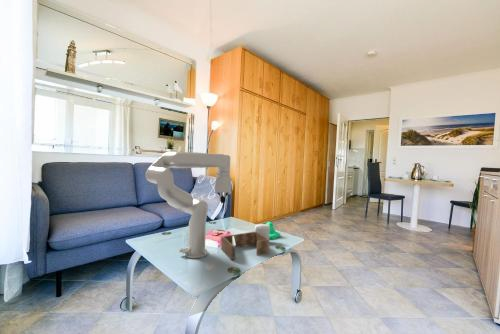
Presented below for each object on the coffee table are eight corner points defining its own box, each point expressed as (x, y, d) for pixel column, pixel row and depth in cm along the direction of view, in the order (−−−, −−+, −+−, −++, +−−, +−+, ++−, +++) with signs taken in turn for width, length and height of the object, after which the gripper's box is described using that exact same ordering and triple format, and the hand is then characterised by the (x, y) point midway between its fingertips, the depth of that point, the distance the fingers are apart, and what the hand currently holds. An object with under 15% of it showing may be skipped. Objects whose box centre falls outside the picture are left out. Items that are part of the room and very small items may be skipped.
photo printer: (268, 241, 148) (269, 223, 148) (269, 243, 144) (270, 225, 144) (253, 241, 147) (254, 223, 147) (254, 243, 143) (255, 225, 142)
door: (237, 259, 119) (238, 245, 118) (233, 259, 118) (234, 245, 118) (235, 248, 133) (235, 236, 133) (231, 248, 133) (232, 236, 132)
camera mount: (268, 240, 150) (268, 225, 150) (261, 237, 156) (261, 222, 156) (280, 237, 157) (281, 223, 157) (273, 234, 163) (274, 220, 163)
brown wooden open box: (231, 260, 118) (232, 246, 117) (221, 249, 132) (221, 236, 131) (268, 253, 129) (269, 239, 129) (255, 243, 143) (255, 231, 143)
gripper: (210, 174, 135) (209, 203, 136) (234, 175, 133) (233, 204, 134) (214, 173, 143) (213, 201, 143) (236, 174, 141) (235, 202, 141)
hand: (222, 202), depth 139 cm, fingers closed
